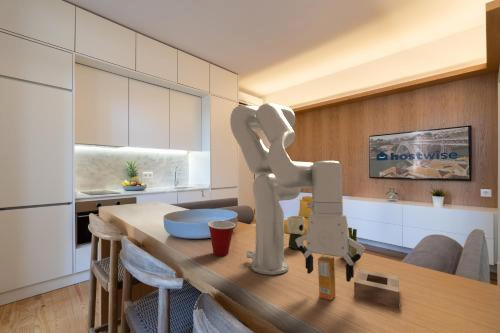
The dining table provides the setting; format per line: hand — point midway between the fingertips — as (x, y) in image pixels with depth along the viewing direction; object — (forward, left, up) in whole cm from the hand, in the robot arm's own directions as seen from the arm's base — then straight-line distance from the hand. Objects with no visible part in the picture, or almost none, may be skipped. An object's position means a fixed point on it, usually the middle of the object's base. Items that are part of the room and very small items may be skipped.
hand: (328, 275), depth 61 cm
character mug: (-22, +34, -6) cm, 41 cm away
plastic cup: (-44, +11, -6) cm, 45 cm away
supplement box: (-1, 0, -6) cm, 6 cm away
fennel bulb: (-1, +32, -6) cm, 33 cm away
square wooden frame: (+10, +9, -6) cm, 15 cm away
